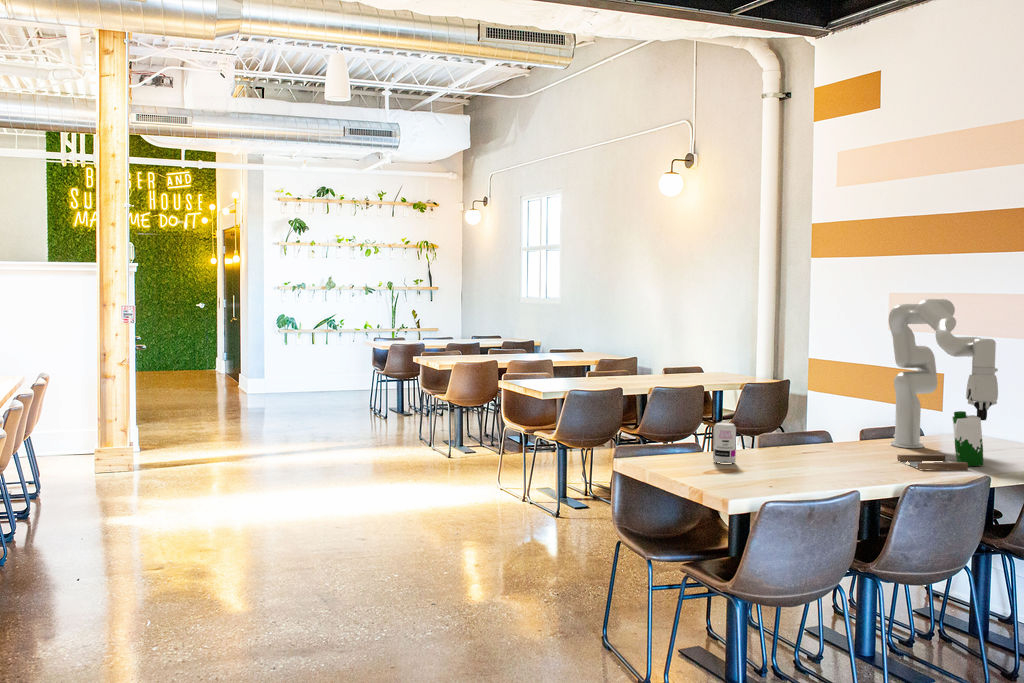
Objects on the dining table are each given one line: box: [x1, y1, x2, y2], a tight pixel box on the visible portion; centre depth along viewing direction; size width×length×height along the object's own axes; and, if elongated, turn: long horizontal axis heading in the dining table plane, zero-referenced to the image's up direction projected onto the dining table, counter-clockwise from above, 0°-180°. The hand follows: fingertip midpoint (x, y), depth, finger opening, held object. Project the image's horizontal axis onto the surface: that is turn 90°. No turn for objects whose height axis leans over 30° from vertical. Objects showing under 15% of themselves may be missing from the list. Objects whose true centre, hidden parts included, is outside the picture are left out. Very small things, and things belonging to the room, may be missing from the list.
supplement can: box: [712, 422, 737, 463], centre depth 325 cm, size 8×8×15 cm
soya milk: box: [951, 410, 984, 467], centre depth 322 cm, size 9×9×20 cm
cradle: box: [896, 453, 969, 471], centre depth 321 cm, size 17×18×2 cm
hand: (981, 419), depth 321 cm, fingers closed
